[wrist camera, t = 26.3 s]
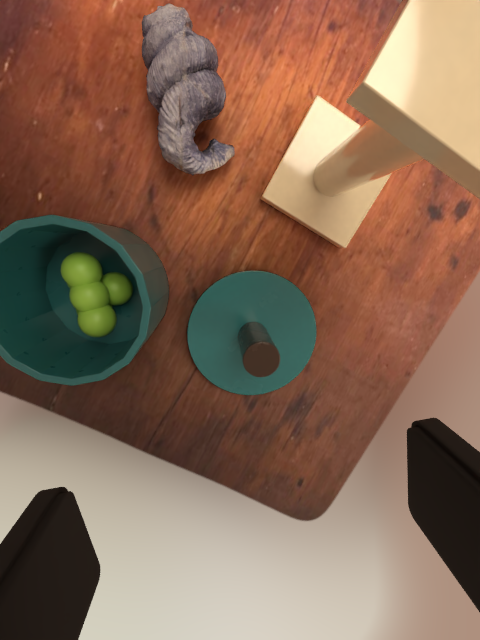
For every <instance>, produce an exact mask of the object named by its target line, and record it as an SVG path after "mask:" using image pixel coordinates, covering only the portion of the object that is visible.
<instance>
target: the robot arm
mask: <svg viewBox="0 0 480 640" xmlns="http://www.w3.org/2000/svg"><path fill="white" fill-rule="evenodd" d="M407 459H408V461H407V462H408V505H409V509H410V512H411V514H412V516H413V518H414V520H415V521H416V523H417V524H418V526H419V527H420V528H421V530H422V531H423V533H424V534H425V536H426V537H427V538H428V540H429V541H430V543H431V544H432V545H433V547H434V548H435V550H436V551H437V552H438V554H439V555H440V557H441V558H442V559H443V561H444V562H445V564H446V565H447V566H448V568H449V569H450V571H451V572H452V574H453V575H454V576H455V578H456V579H457V580H458V582H459V584H460V585H461V586H462V588H463V589H464V591H465V592H466V593H467V595H468V596H469V597H470V599H471V600H472V602H473V603H474V605H475V606H476V608H477V609H478V610H479V612H480V452H479V451H477V450H476V449H475V448H474V447H472V446H471V445H470V444H469V443H467V442H466V441H465V440H464V439H462V438H461V437H460V436H459V435H457V434H456V433H455V432H454V431H452V430H451V429H450V428H449V427H447V426H446V425H445V424H444V423H442V422H441V421H440V420H438V419H437V418H430V419H424V420H419V421H414V422H413V423H412V427H411V428H408V430H407ZM99 577H100V564H99V561H98V558H97V556H96V553H95V550H94V548H93V545H92V542H91V539H90V537H89V534H88V531H87V529H86V526H85V523H84V520H83V518H82V515H81V512H80V510H79V507H78V505H77V502H76V499H75V496H74V494H73V493H72V492H71V491H69V492H68V491H67V489H66V488H65V487H59V488H53V489H48V490H42V491H40V492H38V493H37V495H35V497H34V498H33V500H32V501H31V502H30V504H29V505H28V507H27V508H26V509H25V511H24V512H23V513H22V515H21V516H20V518H19V519H18V520H17V522H16V523H15V525H14V526H13V527H12V529H11V530H10V531H9V533H8V534H7V536H6V537H5V538H4V540H3V541H2V543H1V544H0V640H78V638H79V635H80V632H81V629H82V627H83V624H84V621H85V618H86V616H87V613H88V610H89V607H90V604H91V601H92V599H93V596H94V593H95V590H96V587H97V584H98V581H99Z"/></svg>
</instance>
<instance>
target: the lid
mask: <svg viewBox="0 0 480 640" xmlns="http://www.w3.org/2000/svg"><path fill="white" fill-rule="evenodd" d="M187 339H188V346H189V350H190V354H191V356H192V359H193V361H194V363H195V365H196V366H197V368H198V369H199V371H200V372H201V373H202V374H203V375H204V376H205V377H206V378H207V379H208V380H209V381H210V382H212V383H213V384H215V385H216V386H218V387H220V388H222V389H224V390H226V391H229V392H232V393H236V394H242V395H258V394H264V393H268V392H271V391H274V390H277V389H279V388H281V387H283V386H285V385H286V384H288V383H289V382H290V381H292V380H293V379H294V378H295V377H296V376H298V374H299V373H300V372H301V371H302V370H303V369H304V367H305V366H306V364H307V363H308V361H309V359H310V357H311V355H312V352H313V349H314V346H315V341H316V321H315V316H314V313H313V310H312V307H311V305H310V303H309V301H308V300H307V298H306V297H305V295H304V294H303V293H302V292H301V291H300V290H299V288H297V287H296V286H295V285H294V284H293V283H291V282H290V281H288V280H287V279H285V278H283V277H281V276H279V275H277V274H274V273H270V272H266V271H260V270H248V271H240V272H236V273H233V274H230V275H228V276H225V277H223V278H221V279H220V280H218V281H216V282H215V283H214V284H212V285H211V286H210V287H209V288H208V289H207V290H206V291H205V292H204V293H203V294H202V295H201V296H200V298H199V299H198V301H197V302H196V304H195V306H194V308H193V310H192V313H191V315H190V319H189V323H188V331H187Z"/></svg>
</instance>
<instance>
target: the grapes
mask: <svg viewBox="0 0 480 640" xmlns="http://www.w3.org/2000/svg"><path fill="white" fill-rule="evenodd" d="M61 275H62V277H63V279H64V280H65V282H66V283H67V285H68V287H69V288H70V293H69V297H70V301H71V303H72V305H73V306H74V307H75V308H76V312H77V315H78V325H79V327H80V329H81V330H82V331H83V332H84V333H85V334H87V335H88V336H91V337H103V336H106V335H108V334H109V333H111V332H112V331H113V329H114V328H115V326H116V322H117V317H116V314H115V311H114V310H113V309H112V305H122V304H124V303H126V302H127V301H128V300H129V299H130V298H131V296H132V293H133V286H132V283H131V281H130V279H129V278H128V277H127V276H125V275H124V274H121V273H118V272H110V273H107V274H105V275H103V274H102V267H101V264H100V263H99V261H98V260H97V259H96V258H95V257H94V256H92V255H90V254H88V253H84V252H76V253H72V254H70V255H68V256H67V257H66V258H65V259H64V260H63V262H62V264H61Z"/></svg>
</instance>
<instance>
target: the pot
mask: <svg viewBox="0 0 480 640" xmlns="http://www.w3.org/2000/svg"><path fill="white" fill-rule="evenodd" d="M76 252H84V253H88V254H90V255H92V256H94V257H95V258H96V259H97V260H98V261H99V263H100V264H101V267H102V274H103V275H105V274H107V273H110V272H118V273H121V274H124V275H125V276H127V277H128V278H129V279H130V281H131V283H132V286H133V293H132V296H131V298H130V299H129V300H128V301H127V302H126V303H124V304H122V305H112V309H113V310H114V311H115V314H116V317H117V322H116V326H115V328H114V329H113V331H112V332H111V333H109V334H108V335H106V336H103V337H91V336H88V335H87V334H85V333H84V332H83V331H82V330H81V329H80V327H79V325H78V315H77V312H76V308H75V307H74V306H73V305H72V303H71V301H70V297H69V293H70V288H69V287H68V285H67V283H66V282H65V280H64V279H63V277H62V275H61V264H62V262H63V260H64V259H65V258H66V257H67V256H68V255H70V254H72V253H76ZM168 299H169V284H168V278H167V275H166V271H165V269H164V266H163V264H162V262H161V260H160V259H159V257H158V256H157V254H156V253H155V252H154V250H153V249H152V248H151V247H150V246H149V245H148V244H147V243H146V242H145V241H143V240H142V239H141V238H139V237H138V236H136V235H135V234H133V233H131V232H129V231H128V230H126V229H123V228H118V227H114V226H110V225H105V224H101V223H96V222H90V221H85V220H79V219H74V218H68V217H63V216H57V215H47V216H41V217H35V218H29V219H23V220H18V221H15V222H13V223H12V224H11V225H9V226H8V227H6V228H5V229H4V230H2V231H1V232H0V356H1V357H2V358H3V359H4V360H5V361H6V362H7V363H8V364H10V365H11V366H13V367H15V368H17V369H19V370H21V371H23V372H24V373H26V374H28V375H30V376H32V377H34V378H35V379H37V380H40V381H46V382H52V383H58V384H64V385H70V386H73V385H79V384H84V383H89V382H95V381H100V380H104V379H106V378H107V377H109V376H111V375H112V374H114V373H115V372H117V371H118V370H120V369H121V368H123V367H125V366H126V365H128V364H129V363H130V362H131V361H132V359H133V358H134V357H135V355H136V354H137V353H138V351H139V350H140V349H141V347H142V346H143V345H144V343H145V342H146V341H147V340H148V338H149V337H150V336H151V334H152V333H153V332H154V330H155V329H156V327H157V326H158V324H159V323H160V321H161V320H162V318H163V317H164V315H165V312H166V308H167V304H168Z"/></svg>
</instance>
